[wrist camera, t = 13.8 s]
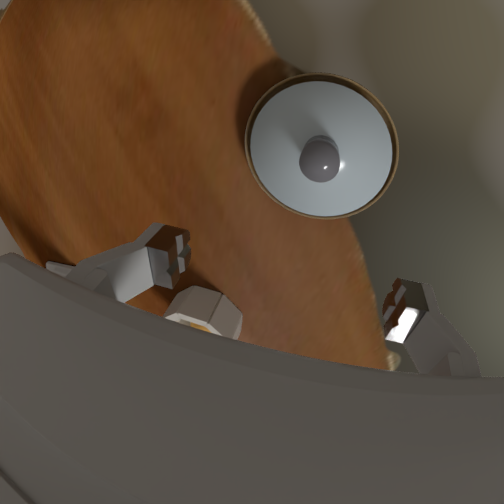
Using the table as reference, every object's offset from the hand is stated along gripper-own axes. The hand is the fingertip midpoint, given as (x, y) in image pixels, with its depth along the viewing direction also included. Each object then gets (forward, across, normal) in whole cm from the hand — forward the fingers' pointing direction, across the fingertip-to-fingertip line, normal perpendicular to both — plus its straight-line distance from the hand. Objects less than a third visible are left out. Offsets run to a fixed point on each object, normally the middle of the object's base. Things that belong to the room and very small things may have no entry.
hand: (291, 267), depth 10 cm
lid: (+17, +1, 0) cm, 17 cm away
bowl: (+20, -11, -30) cm, 37 cm away
